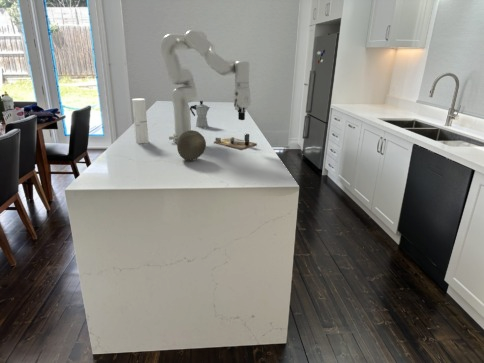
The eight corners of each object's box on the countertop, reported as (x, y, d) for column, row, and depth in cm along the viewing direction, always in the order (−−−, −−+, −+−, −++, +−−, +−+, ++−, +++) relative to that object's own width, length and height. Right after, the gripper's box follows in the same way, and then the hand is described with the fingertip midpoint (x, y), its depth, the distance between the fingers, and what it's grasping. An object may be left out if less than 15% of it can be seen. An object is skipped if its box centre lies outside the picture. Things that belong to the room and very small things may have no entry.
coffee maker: (211, 125, 249) (211, 100, 243) (209, 127, 241) (209, 102, 234) (191, 124, 250) (190, 99, 244) (188, 127, 242) (187, 101, 236)
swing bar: (229, 143, 200) (229, 133, 197) (231, 141, 202) (231, 132, 200) (248, 145, 196) (248, 135, 194) (249, 144, 199) (250, 134, 196)
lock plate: (240, 149, 191) (240, 144, 190) (213, 142, 204) (213, 137, 202) (256, 144, 202) (256, 139, 201) (230, 138, 214) (230, 133, 213)
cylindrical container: (149, 143, 201) (145, 100, 192) (136, 143, 198) (132, 100, 189) (147, 140, 207) (144, 98, 198) (135, 140, 204) (131, 98, 195)
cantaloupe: (179, 165, 164) (177, 135, 159) (176, 156, 177) (175, 128, 172) (208, 163, 168) (207, 133, 163) (203, 155, 181) (202, 127, 175)
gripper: (239, 87, 173) (239, 122, 180) (255, 84, 185) (254, 118, 191) (227, 86, 177) (227, 121, 184) (244, 83, 189) (243, 116, 195)
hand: (241, 119), depth 188 cm, fingers closed
